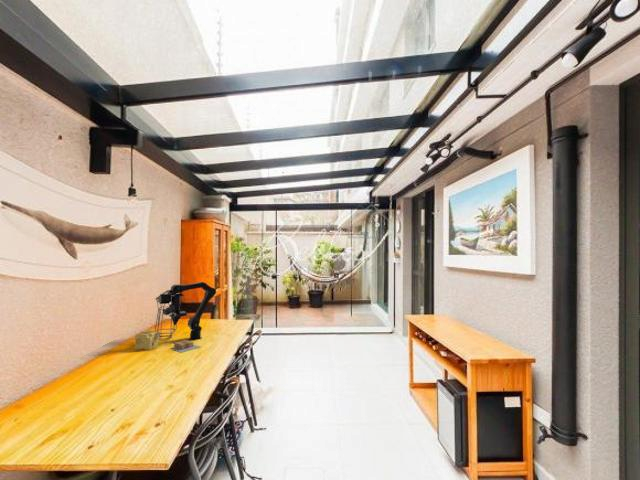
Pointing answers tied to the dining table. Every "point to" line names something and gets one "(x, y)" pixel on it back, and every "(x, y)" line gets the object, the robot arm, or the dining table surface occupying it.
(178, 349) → the grey mat
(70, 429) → the dining table surface
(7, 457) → the dining table surface
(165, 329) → the geometric lantern
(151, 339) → the cheese
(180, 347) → the walnut slab
